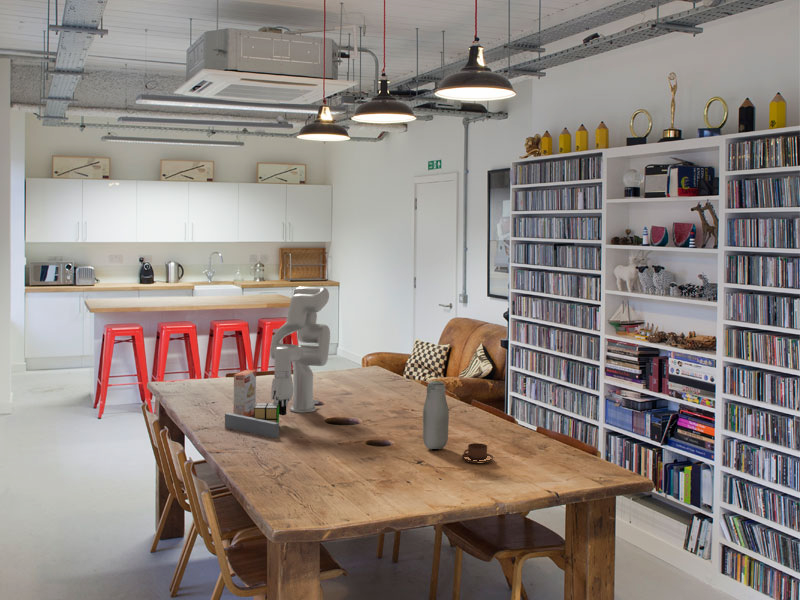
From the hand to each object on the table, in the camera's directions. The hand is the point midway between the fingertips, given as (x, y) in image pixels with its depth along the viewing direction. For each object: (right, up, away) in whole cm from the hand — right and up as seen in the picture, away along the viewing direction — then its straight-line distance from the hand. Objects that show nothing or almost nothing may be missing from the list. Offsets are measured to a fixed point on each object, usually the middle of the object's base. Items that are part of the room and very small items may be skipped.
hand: (282, 414), depth 372 cm
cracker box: (-19, -3, +13) cm, 24 cm away
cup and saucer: (+83, -11, -53) cm, 99 cm away
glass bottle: (+67, -9, -37) cm, 77 cm away
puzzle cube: (-6, -5, -8) cm, 11 cm away
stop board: (-11, -5, -16) cm, 20 cm away
